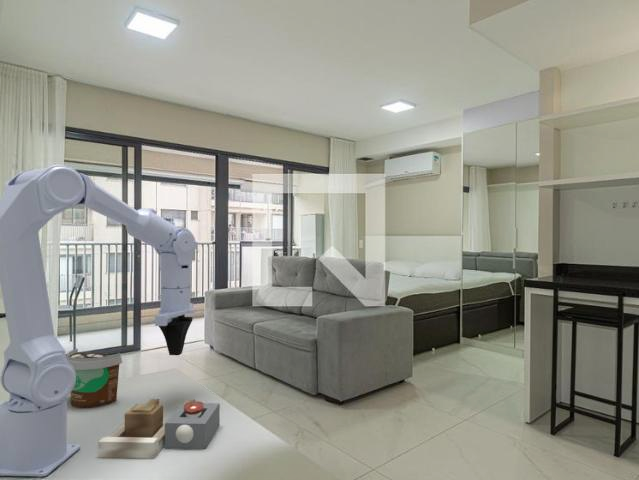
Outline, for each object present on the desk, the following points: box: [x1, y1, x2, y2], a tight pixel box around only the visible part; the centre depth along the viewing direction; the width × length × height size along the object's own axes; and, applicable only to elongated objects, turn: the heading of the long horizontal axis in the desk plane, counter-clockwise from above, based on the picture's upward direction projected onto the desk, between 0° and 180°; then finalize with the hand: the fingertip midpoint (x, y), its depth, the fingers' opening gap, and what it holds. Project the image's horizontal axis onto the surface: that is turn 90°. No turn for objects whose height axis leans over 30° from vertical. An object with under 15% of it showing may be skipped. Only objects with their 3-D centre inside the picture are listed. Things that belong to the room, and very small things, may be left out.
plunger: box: [184, 400, 204, 418], centre depth 68 cm, size 3×3×5 cm
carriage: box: [124, 403, 164, 438], centre depth 67 cm, size 5×4×5 cm
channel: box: [97, 398, 196, 459], centre depth 70 cm, size 9×18×2 cm, turn 178°
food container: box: [66, 348, 123, 409], centre depth 81 cm, size 12×6×10 cm, turn 73°
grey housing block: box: [164, 402, 221, 450], centre depth 68 cm, size 6×8×4 cm
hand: (175, 354), depth 82 cm, fingers closed
